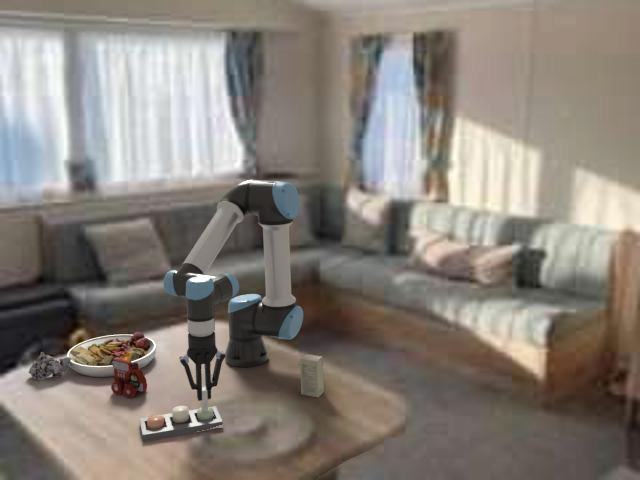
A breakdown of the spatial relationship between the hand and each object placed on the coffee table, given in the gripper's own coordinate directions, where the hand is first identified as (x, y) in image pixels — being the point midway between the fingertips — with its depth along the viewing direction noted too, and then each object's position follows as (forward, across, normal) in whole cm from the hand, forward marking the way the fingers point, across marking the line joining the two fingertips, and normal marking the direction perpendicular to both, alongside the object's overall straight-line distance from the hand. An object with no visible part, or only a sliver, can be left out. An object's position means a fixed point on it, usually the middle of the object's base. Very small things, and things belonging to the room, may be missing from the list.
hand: (204, 409), depth 191 cm
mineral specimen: (+4, +44, -49) cm, 66 cm away
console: (+4, +7, 0) cm, 8 cm away
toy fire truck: (+4, +19, -28) cm, 34 cm away
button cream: (+2, +7, 0) cm, 7 cm away
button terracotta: (+3, +14, 0) cm, 14 cm away
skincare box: (+4, -35, -7) cm, 36 cm away
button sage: (+3, 0, 0) cm, 3 cm away
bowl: (+4, +23, -55) cm, 60 cm away
